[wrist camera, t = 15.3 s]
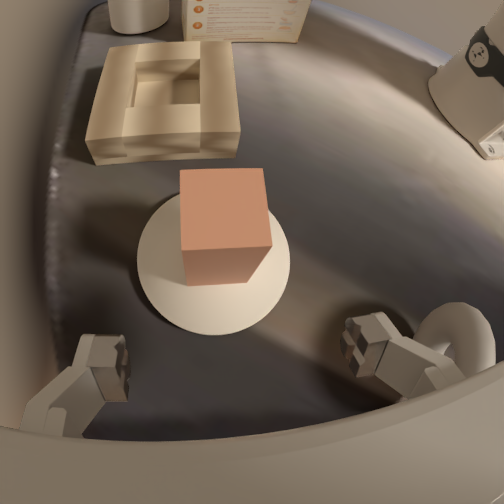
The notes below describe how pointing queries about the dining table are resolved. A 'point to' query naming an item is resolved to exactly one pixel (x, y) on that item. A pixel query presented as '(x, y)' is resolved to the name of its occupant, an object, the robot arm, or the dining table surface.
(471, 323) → the donut
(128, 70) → the holder
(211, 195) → the block
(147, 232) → the cream oval shape
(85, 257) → the dining table surface
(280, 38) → the coffeecake box
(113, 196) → the dining table surface
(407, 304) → the dining table surface
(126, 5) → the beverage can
